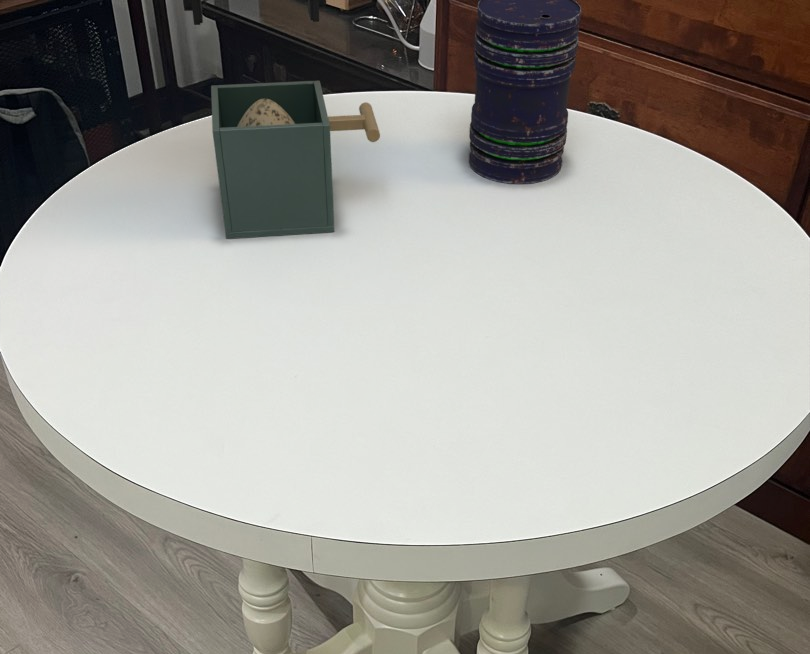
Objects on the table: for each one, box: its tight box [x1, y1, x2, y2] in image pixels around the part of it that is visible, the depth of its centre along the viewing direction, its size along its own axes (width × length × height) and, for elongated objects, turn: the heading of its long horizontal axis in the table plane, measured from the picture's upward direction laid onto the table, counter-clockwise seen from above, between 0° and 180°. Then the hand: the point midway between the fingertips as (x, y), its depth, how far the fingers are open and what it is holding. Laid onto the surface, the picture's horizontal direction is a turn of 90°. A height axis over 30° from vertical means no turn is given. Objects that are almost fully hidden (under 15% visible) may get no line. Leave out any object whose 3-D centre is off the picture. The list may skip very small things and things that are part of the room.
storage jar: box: [468, 0, 582, 185], centre depth 98 cm, size 10×10×15 cm
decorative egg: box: [237, 99, 295, 127], centre depth 91 cm, size 7×7×10 cm
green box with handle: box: [210, 80, 381, 240], centre depth 92 cm, size 10×10×15 cm
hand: (256, 18), depth 83 cm, fingers open, 9 cm apart
